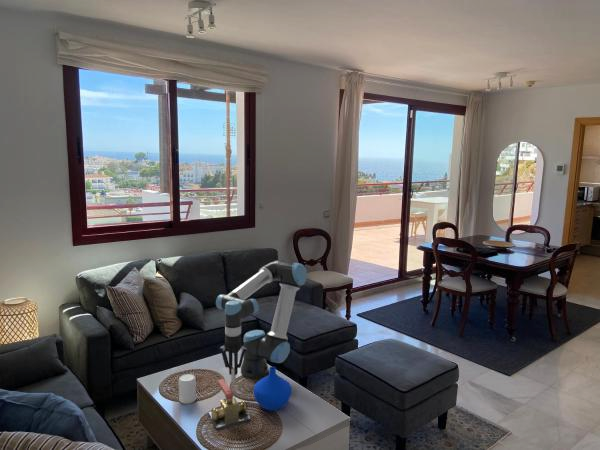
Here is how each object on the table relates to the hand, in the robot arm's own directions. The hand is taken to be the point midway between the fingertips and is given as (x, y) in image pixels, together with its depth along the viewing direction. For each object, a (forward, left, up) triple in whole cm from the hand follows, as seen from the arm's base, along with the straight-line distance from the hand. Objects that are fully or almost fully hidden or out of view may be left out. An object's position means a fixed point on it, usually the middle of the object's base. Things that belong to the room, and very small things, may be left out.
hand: (233, 380), depth 214 cm
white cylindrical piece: (+19, -14, -13) cm, 27 cm away
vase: (-17, +8, -13) cm, 23 cm away
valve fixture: (+5, +9, -13) cm, 16 cm away
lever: (+5, +3, -2) cm, 6 cm away
